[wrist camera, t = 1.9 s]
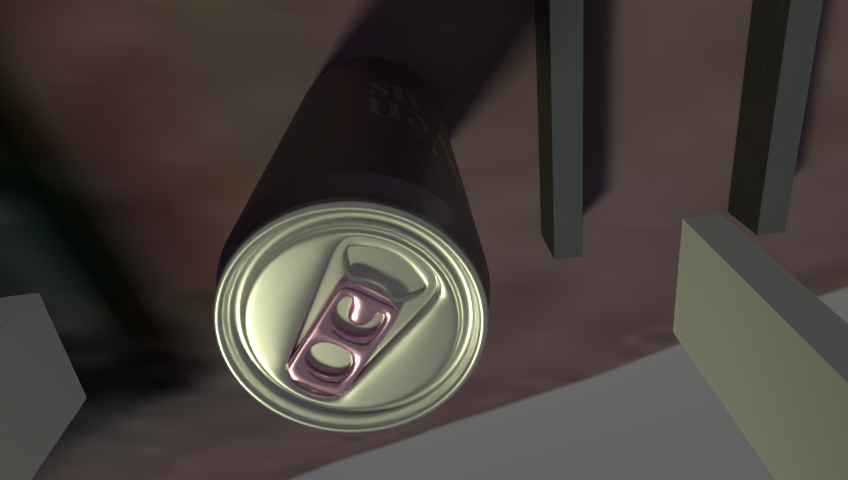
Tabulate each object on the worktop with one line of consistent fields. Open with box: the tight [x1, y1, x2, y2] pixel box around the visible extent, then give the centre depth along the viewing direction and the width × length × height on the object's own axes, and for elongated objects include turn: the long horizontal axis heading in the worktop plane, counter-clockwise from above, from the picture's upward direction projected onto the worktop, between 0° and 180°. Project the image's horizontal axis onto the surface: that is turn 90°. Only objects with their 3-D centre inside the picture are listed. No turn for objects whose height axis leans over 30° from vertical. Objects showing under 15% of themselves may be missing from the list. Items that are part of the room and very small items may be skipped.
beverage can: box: [213, 58, 490, 432], centre depth 19 cm, size 6×6×15 cm
